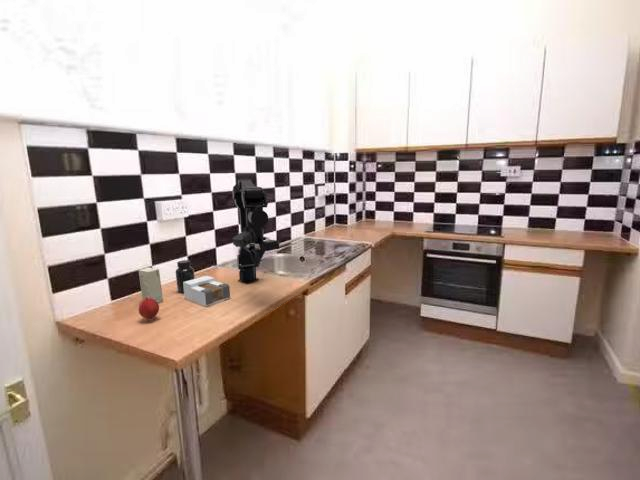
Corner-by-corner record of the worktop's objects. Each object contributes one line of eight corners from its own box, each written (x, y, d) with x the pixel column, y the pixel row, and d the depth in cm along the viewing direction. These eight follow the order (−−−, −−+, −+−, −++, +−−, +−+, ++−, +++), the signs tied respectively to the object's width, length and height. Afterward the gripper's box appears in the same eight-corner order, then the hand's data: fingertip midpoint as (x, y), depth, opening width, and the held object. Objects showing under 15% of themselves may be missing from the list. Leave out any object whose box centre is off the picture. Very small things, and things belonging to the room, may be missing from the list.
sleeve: (208, 290, 134) (206, 275, 132) (230, 298, 125) (229, 282, 124) (184, 298, 126) (183, 282, 125) (206, 306, 117) (205, 289, 116)
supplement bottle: (190, 286, 139) (187, 258, 137) (199, 290, 135) (196, 260, 132) (174, 291, 134) (171, 261, 131) (183, 294, 129) (180, 264, 127)
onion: (137, 319, 108) (134, 295, 106) (156, 314, 111) (153, 291, 110) (143, 325, 103) (140, 300, 102) (162, 319, 107) (160, 295, 106)
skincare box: (163, 301, 123) (160, 269, 121) (152, 305, 119) (148, 272, 117) (152, 298, 126) (149, 266, 124) (141, 302, 123) (137, 269, 120)
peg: (206, 293, 129) (206, 283, 128) (222, 298, 123) (222, 288, 122) (197, 296, 126) (196, 285, 125) (213, 302, 120) (212, 291, 119)
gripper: (219, 224, 118) (222, 266, 121) (254, 228, 107) (257, 276, 110) (244, 220, 127) (246, 260, 130) (279, 224, 115) (281, 268, 118)
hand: (256, 266), depth 122 cm, fingers closed
